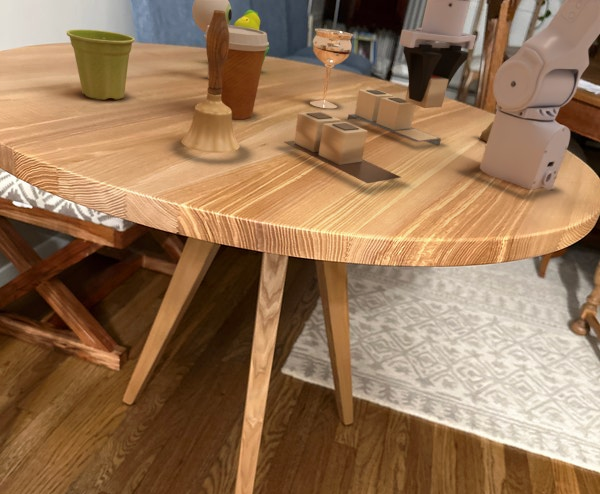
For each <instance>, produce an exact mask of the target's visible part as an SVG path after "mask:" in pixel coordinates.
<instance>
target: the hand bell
mask: <svg viewBox="0 0 600 494" xmlns="http://www.w3.org/2000/svg"><path fill="white" fill-rule="evenodd" d="M205 47H206V57H207V63H208V62H209V79H208V81H207V82H208V83H207V86H208V87H207V93H206V99H205V100H204V101H201V102H199V103H197V104H195V106H194V112H193V116H192V120H191V124H190V128H189V130H188V131H187V133H186V134H185V136H184V137H183V138H182V139H181V144H182V145H183V146H185V147H187V148H188V149H191V150H195V151H198V152H203V153H212V154H213V153H214V154H225V153H232V152H235V151H238V150H239V149H240V148H241V145H240V143H239V142H238V140H237V138H236V135H235V132H234V126H233V119H232V111H231V109H230V108H229V107H227V106H226V105H225V104H223V103H222V101H221V93H222V89H221V88H222V73H223V68H224V64H225V62H226V59H227V55H228V49H229V30H228V25H227V21H226V13H225V11H220V10H214V13H213V17H212V20H211V23H210V25H209V28H208V32H207V40H206V42H205Z"/></svg>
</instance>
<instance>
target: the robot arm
mask: <svg viewBox="0 0 600 494" xmlns="http://www.w3.org/2000/svg"><path fill="white" fill-rule="evenodd" d="M470 2H471V0H427V1H426V5H425V9H424V14H423V18H422V23H421V27H416V28H414V29H402V30H401V34H400V39H399V43H398V45H399V46H403V50H402V51H403V55H404V58H405V59H404V60H405V62H406V67H407V75H408V85H409V99H412V100H415V101H418V102H422V100H423V97H424V95H425V92H426V90H427V87H428V83H429V80H430V77H431V75H432V74H433V75H436V76H439V77H443V78H446V79H449V80H448V84H447V88H446V90H447V89H448V88H449V85H450V83H451V81H452V80H453V78H454V76H455V75H456V73H457V72H458V71H459V69H460V68H461V66H463V64H464V63H465V62H466V61H467V60H468V58H469V52H468V51H466V50H473V49H474V46H475V42H476V38H477V35H476V34H475V35H474V34H470V33H466V32H463V30H464V26H465V23H466V19H467V14H468V10H469V6H470ZM599 35H600V0H564V2H563V3H562V4H561V6H560V7H559V8H558V10H557V12H556V13H555V15H554V16H553V18H552V19H551V20H550V21H549V24H548V25H547V26H546V27H544V28H543V29H542V30H541V31H539V32H537V33H536V34H534V35H533V36H531V37H530V38H528V39H527V40H525V41H524V42H523V44H522V45H521V47H520V48H519V49H518V51H517V52H516V53H515V54H514V55H512V56H511V57H509V58H508V59H506V60H505V61H504V62H502V64H500V66H499V68H498V69H497V71H496V73H495V74H494V78H493V82H492V94H493V98H494V100H495V102H496V104H495V110H496V112H495V115H494V117H493V118H494V119H493V121H492V122H493V125H492V128H491V131H490V135H489V138H488V141H487V142H486V145H485V148H484V151H483V155H482V158H481V162H480V165H479V169H480V171H482V172H483V173H484V174H486V175H488V176H490V177H493V178H496V179H499V180H502V181H505V182H509V183H511V184H514V185H517V186H519V187H522V188H524V189H527V190H529V191H530V190H531V191H532V190H536V189H537V190H538V189H540V188H543V189H546V190H549V191H551V190H555V188H556V184H555V182H556V179H557V176H558V174H559V172H560V168H561V166H562V164H563V160H564V159H565V157H566V156H565V155H566V154H567V153H566V152H567V149H568V147H569V144H570V141H571V129H570V128H569V127H568V126H566V125H564V124H560V123H559V122H557V120H556V118H557V117H558V114H559V111H560V109H561V108H562V107H564V106H565V105H567V104H568V103H569V102H570V101H571V100H572V99H573V98H574V96H575V94H576V92H577V90H578V86H579V83H580V79H581V78H582V75H583V73H584V72H585V71H586V69H587V68H588V67H589V65H590V57H589V49H590V48H591V46H592V45H593V43H594V42H595V41H596V40H597V38H598V37H599ZM462 49H465V50H462Z"/></svg>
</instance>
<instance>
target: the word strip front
mask: <svg viewBox="0 0 600 494" xmlns="http://www.w3.org/2000/svg"><path fill="white" fill-rule="evenodd" d="M368 132H369V131H368V130H366V129H365V128H362V127H359V126H357V125H354V124H352V123H350V122H347V121H341V119H340V118H337V117H335V116H333V115H330V114H328V113H325V112H323V111H307V112H306V111H305V112H297V120H296V126H295V135H294V140H288V141H284V143H285V144H287V145H289V146H291V147H293V148H294V149H297V150H299V151H301V152H303V153H305V154H307V155H309V156H311V157H313V158H314V159H317V160H319V161H321V162H323V163H325V164H327V165H329V166H331V167H334V168H336V169H337V170H339V171H341V172H343V173H346V174H347V175H349V176H352V177H354V178H356V179H358V180H360V181H361V182H364V183H366V184H373V183H379V182H383V181H389V180H395V179H401V178H402V177H401V176H400V175H398V174H396V173H393V172H391V171H389V170H387V169H385V168H383V167H381V166H378V165H376V164H374V163H372V162H370V161H367V160H365V159H363V158H364V152H365V148H366V142H367V137H368Z"/></svg>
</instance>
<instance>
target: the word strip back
mask: <svg viewBox="0 0 600 494" xmlns="http://www.w3.org/2000/svg"><path fill="white" fill-rule="evenodd" d="M405 99H406V98H402V97H399V96H394V95H393V94H391V93H387V92H385V91H381V90H379V89H375V88H374V89H359V90H358V94H357V100H356V106H355V111H354V113H350V114H348V115H347V120H348V121H349V120H350V121H351V120H359V121H363V122H366V123H368V124H371V125H373V126H376V127H378V128H381V129H383V130H386V131H388V132H390V133H393V134H395V135H398V136H400V137H403V138H406V139H408V140H411V141H413V142H415V143H419V142H427V143H429V144H432V145H434V146H439V145H440V144H441V141H442V138H441V137H438V136H436V135H433V134H430V133H428V132H425V131H422V130H419V129H417V128H414V127H412V125H413V120H414V115H415V111H416V107H417V105H415V104H412V103H409V102H406V101H405Z"/></svg>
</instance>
